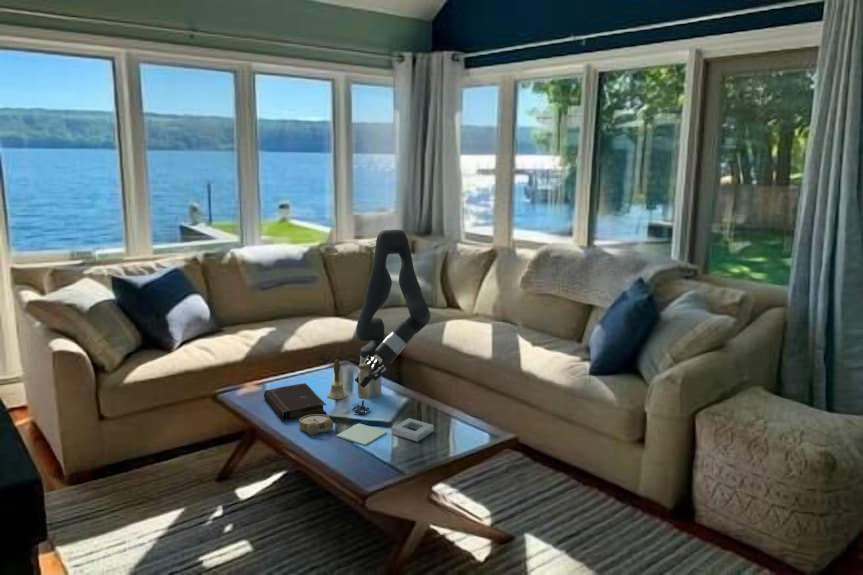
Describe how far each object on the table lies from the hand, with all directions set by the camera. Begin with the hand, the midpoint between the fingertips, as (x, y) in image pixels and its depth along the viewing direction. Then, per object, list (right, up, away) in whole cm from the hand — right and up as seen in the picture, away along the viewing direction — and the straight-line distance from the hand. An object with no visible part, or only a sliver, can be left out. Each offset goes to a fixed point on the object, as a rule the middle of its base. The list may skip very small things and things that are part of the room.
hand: (359, 383), depth 230 cm
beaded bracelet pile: (-2, -16, +25) cm, 30 cm away
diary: (-29, -14, +29) cm, 43 cm away
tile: (0, -19, +5) cm, 20 cm away
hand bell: (-14, -11, +42) cm, 45 cm away
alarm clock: (-17, -18, +9) cm, 26 cm away
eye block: (+19, -19, +8) cm, 28 cm away
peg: (+1, -5, +2) cm, 6 cm away
